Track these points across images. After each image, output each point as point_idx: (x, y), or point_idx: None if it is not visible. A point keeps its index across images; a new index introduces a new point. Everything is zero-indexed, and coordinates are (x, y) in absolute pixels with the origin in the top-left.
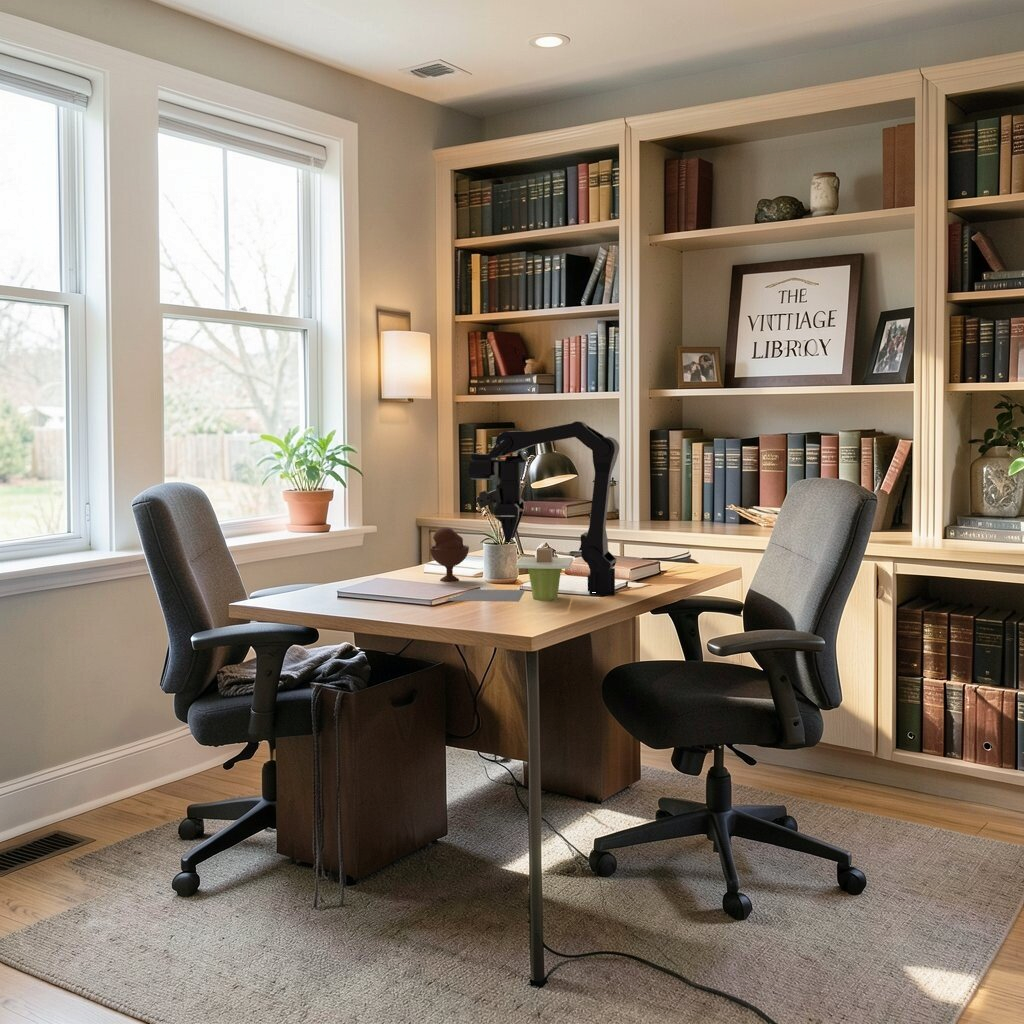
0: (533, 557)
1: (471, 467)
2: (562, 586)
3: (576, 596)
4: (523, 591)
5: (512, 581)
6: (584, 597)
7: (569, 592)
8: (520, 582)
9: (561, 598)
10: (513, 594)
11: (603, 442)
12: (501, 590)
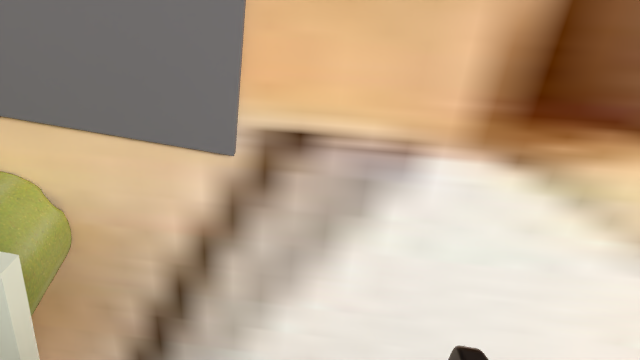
0: (13, 347)
1: None
2: (369, 324)
3: (110, 335)
4: (182, 144)
5: (619, 109)
6: (92, 354)
7: (205, 327)
8: (558, 154)
9: (51, 282)
10: (75, 81)
11: None
12: (211, 12)
